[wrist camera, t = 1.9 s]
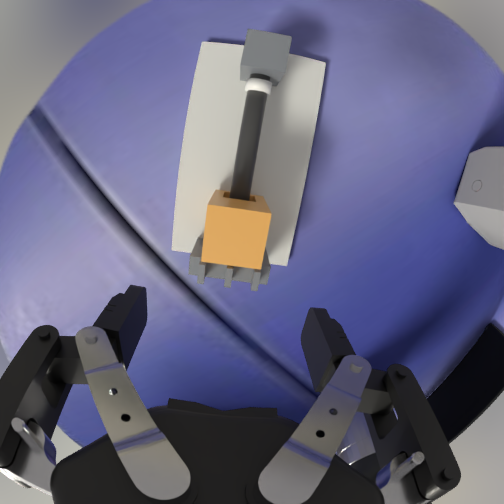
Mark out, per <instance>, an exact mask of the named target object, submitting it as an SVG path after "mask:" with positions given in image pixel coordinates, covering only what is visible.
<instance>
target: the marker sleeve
mask: <svg viewBox="0 0 504 504" xmlns="http://www.w3.org/2000/svg"><path fill="white" fill-rule="evenodd" d="M229 196H230V191H224V190H217V189H216V190H215V192H214V193H213V195H212V197H211V199H210V201H209V203H208V205H207V212H206V221H205V229H204V238H203V247H202V257H201V262H208V263H216V264H223V265H230V266H238V267H245V268H253V269H261V267H262V261H263V256H264V251H265V246H266V241H267V236H268V231H269V225H270V220H271V215H272V213H271V211H270V209H269V207H268V205H267V203H266V201H265V199H264V197H263V196H258V195H252V194H250V198H249V201H246V200H239V199H233V198H229Z"/></svg>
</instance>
